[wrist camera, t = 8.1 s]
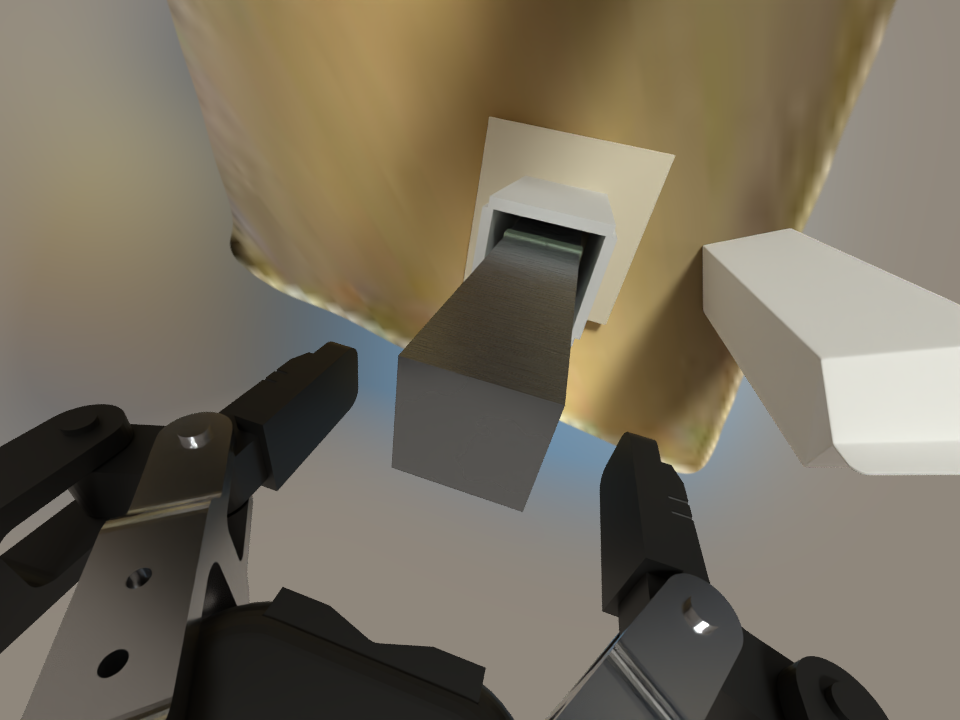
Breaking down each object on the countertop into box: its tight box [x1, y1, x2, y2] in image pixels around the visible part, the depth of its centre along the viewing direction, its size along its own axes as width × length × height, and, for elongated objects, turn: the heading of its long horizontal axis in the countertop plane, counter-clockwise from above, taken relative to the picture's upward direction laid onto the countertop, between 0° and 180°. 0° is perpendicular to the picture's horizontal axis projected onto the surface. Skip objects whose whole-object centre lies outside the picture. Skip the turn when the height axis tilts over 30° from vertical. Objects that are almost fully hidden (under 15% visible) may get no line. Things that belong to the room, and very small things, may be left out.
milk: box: [703, 228, 960, 475], centre depth 21 cm, size 6×6×22 cm
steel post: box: [392, 216, 583, 512], centre depth 17 cm, size 5×4×19 cm
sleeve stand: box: [463, 116, 675, 346], centre depth 26 cm, size 14×14×15 cm
